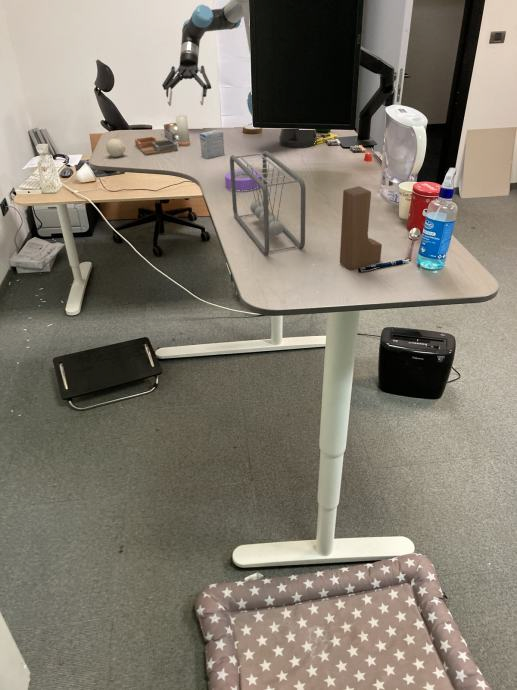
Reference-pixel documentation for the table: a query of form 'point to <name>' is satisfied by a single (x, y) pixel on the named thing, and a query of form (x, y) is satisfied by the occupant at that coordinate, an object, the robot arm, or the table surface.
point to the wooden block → (357, 230)
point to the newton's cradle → (267, 201)
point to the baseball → (115, 147)
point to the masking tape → (241, 180)
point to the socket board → (155, 145)
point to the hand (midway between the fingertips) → (185, 103)
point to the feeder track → (167, 134)
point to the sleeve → (182, 131)
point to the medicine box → (212, 144)
